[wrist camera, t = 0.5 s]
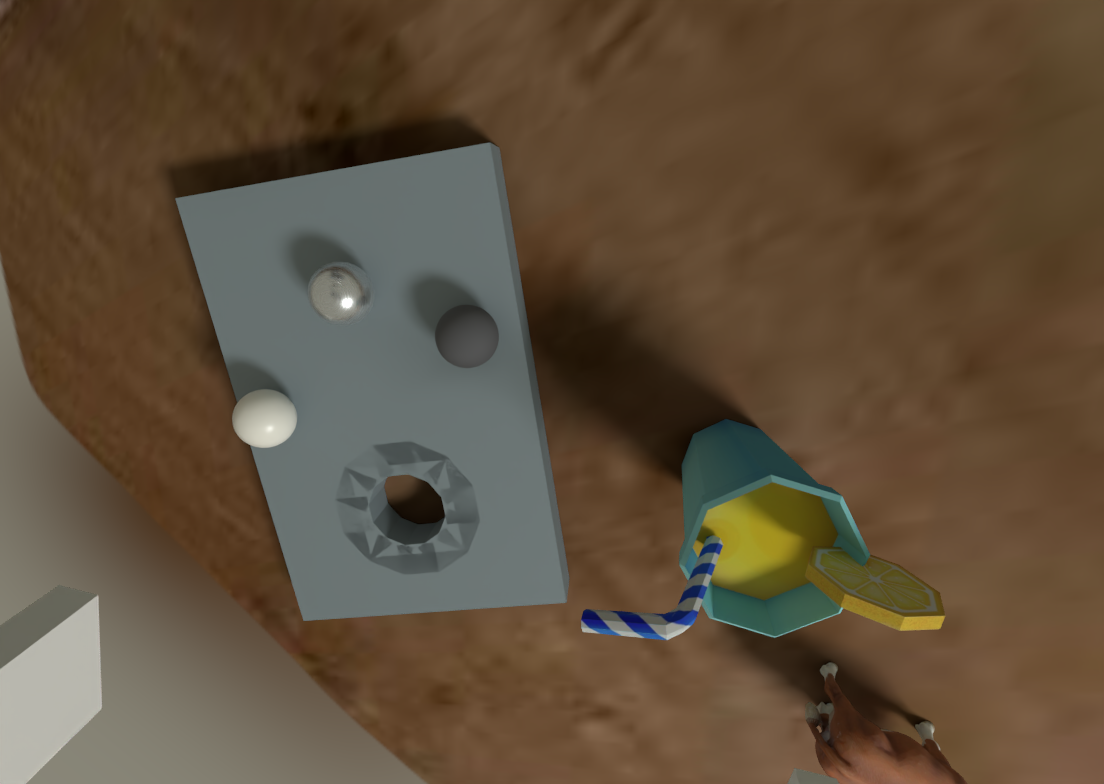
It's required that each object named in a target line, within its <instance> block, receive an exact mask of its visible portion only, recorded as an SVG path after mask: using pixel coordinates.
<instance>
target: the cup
mask: <svg viewBox="0 0 1104 784" xmlns="http://www.w3.org/2000/svg"><path fill="white" fill-rule="evenodd" d="M682 484H683V507H684V530H685V540H684V542H683V545H682V547H681V550H680V555H679V565H680V567H681V569H682V570H683V572H684V574H685V576H686V578H687V579H688V583H687V585H686V587H685V590H684V592H683V595H682V597H681V599H680V602H679V604H678V606H677V608H676V609H674V610H672V611H671V612H668V613H666V614H653V613H637V612H622V611H606V610H590V609H586V610H584V611H583V615H582V619H581V628H582V630H583V632H590V633H600V634H610V635H620V636H630V637H640V638H651V639H661V640H668V639H670V638H672V637H674V636H677V635H679V634H681V633H683V632H684V631H685V630H686V629H688V628H689V627H690V626H691V625H692V624H693V623H694V621H695V619H696V617H697V614H698V611H699V609H700V606H701V604H702V606H703V608H704V610H705V611H706V613H707V615H708V617H709V618H711V619H714V620H718V621H721V622H724V623H727V624H731V625H734V626H737V627H741V628H744V629H747V630H751V631H754V632H757V633H760V634H764V635H767V636H770V637H774V638H775V637H778V636H780V635H783V634H786V633H789V632H791V631H794V630H797V629H799V628H802V627H805V626H807V625H810V624H813V623H815V622H818V621H821V620H823V619H826V618H829V617H831V616H834V615H837V614H839V613H841V611H842V609H843V608H844V609H847V610H849V611H852V612H854V613H857V614H859V615H862V616H864V617H867V618H869V619H872V620H874V621H877V622H879V623H882V624H884V625H887V626H889V627H892V628H894V629H897V630H899V631H901V630H927V629H940V627H941V625H942V623H943V620H944V618H945V613H944V609H943V604H942V600H941V596H940V593H939V592H938V591H937V590H935V589H934V588H932V587H931V586H929V585H928V584H926V583H925V582H923V581H922V580H920V579H919V578H917V577H916V576H915V575H913V574H912V573H910V572H909V571H907V570H906V569H904V568H903V567H901V566H900V565H898V564H895V563H892V562H889V561H887V560H884V559H881V558H878V557H875V556H873V555H870V553H869V551H868V549H867V547H866V545H865V543H864V541H863V539H862V537H861V535H860V532H859V530H858V528H857V526H856V524H855V522H854V520H853V518H852V516H851V514H850V512H849V509H848V507H847V505H846V503H845V501H844V499H843V497H842V496H841V495H840V494H839V493H838V492H836V491H835V490H834V489H832V488H831V487H827V486H824V485H821V484H818V483H817V482H816V481H815V480H814V479H813V478H812V477H811V476H810V475H808V474H807V473H806V472H805V471H804V470H803V469H802V468H801V467H800V466H799V465H798V464H797V463H796V462H795V461H794V460H793V459H791V458H790V457H789V456H788V455H787V454H786V453H785V452H784V451H783V450H782V449H781V448H780V447H779V446H778V445H777V444H776V443H774V442H773V441H772V440H771V439H770V438H769V437H768V436H767V435H766V434H765V433H764V432H763V431H762V430H761V429H758V428H755V427H752V426H748V425H745V424H742V423H738V422H735V421H731V420H728V419H725V420H723V421H720V422H718V423H716V424H714V425H712V426H710V427H708V428H705V429H703V430H701V431H699V432H697V433H695V434H693V436H692V439H691V442H690V444H689V447H688V450H687V452H686V455H685V457H684V460H683V463H682Z"/></svg>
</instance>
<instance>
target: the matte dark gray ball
mask: <svg viewBox="0 0 1104 784" xmlns="http://www.w3.org/2000/svg"><path fill="white" fill-rule="evenodd" d="M435 342H436V346H437V348H438V351H439V352H440V354H441V355H442V357H443V358H444V359H445V360H446V361H448V362H449V363H451V364H453V365H455V366H457V367H461V368H473V367H477V366H480V365H482V364H484V363H485V362H487V361H488V360H489V359H490V358H491V357H492V356H493V354H494V353H495V351H496V349H497V346H498V342H499V332H498V327H497V325H496V323H495V321H494V319H493V318H492V316H491V315H490V314H489V313H488V312H486V311H485V310H484V309H482V308H480V307H477V306H474V305H459V306H456V307H453V308H451V309H450V310H448V311H447V312H446V313H445V314H444V315H443V316H442V317H441V318H440V320H439V321H438V324H437V326H436V330H435Z"/></svg>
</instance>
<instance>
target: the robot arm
mask: <svg viewBox="0 0 1104 784" xmlns="http://www.w3.org/2000/svg"><path fill="white" fill-rule="evenodd" d="M98 605H99V604H98V595H97V594H92V593H88V592H84V591H80V590H76V589H72V588H68V587H64V586H60V585H59V586H57V587H56V588H54V589H53V590H51V591H50V592H48V593H47V594H45V595H44V596H43V597H41V598H40V599H38V600H37V601H35V602H34V603H32V604H31V605H29V606H28V607H27V608H25V609H24V610H22V611H21V612H19V613H18V614H16V615H15V616H13V617H12V618H11V619H9V620H8V621H6V622H5V623H3V624H2V625H1V626H0V784H26V783H27V782H28V781H29V780H30V779H31V778H32V777H33V776H34V775H35V774H36V773H37V772H38V771H39V770H40V769H41V768H42V767H43V766H44V765H45V764H46V763H47V762H48V761H49V760H50V759H51V758H52V757H53V756H54V755H55V754H56V753H57V752H58V751H59V750H60V749H61V748H62V747H63V746H64V745H65V744H66V743H67V742H68V741H69V740H70V739H71V738H72V737H73V736H74V735H75V734H76V733H78V731H80V730H81V728H83V726H85V725H86V724H87V723H88V722H89V721H90V720H91V719H92V718H93V717H94V716H95V715H96V714H97V713H98V712H99V711H100V710H101V709H102V697H101V667H100V636H99V606H98ZM788 784H839V783H838V781H837V779H836V778H832V777H828V776H824V775H820V774H816V773H812V772H808V771H804V770H800V769H796V768H794V771H793V773H792V775H791V777H790V779H789V782H788Z"/></svg>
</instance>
